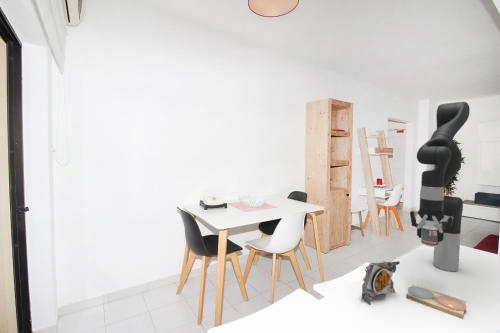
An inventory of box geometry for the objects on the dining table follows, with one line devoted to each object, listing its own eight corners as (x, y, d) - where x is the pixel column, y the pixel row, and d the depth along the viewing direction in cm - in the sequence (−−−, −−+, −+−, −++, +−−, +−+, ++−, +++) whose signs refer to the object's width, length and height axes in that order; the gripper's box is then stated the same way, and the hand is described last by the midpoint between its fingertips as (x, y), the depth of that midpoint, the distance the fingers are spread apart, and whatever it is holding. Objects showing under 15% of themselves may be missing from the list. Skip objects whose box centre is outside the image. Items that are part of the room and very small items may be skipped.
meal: (371, 306, 87) (372, 270, 86) (361, 299, 91) (362, 265, 90) (399, 295, 93) (400, 261, 92) (388, 289, 97) (389, 257, 96)
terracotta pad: (438, 293, 92) (438, 293, 92) (467, 303, 86) (467, 302, 86) (435, 303, 86) (435, 302, 86) (465, 314, 81) (465, 313, 81)
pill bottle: (441, 247, 95) (442, 222, 94) (425, 246, 96) (426, 221, 95) (433, 242, 100) (434, 218, 99) (418, 241, 101) (419, 217, 101)
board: (412, 287, 99) (412, 284, 99) (465, 304, 87) (465, 301, 87) (406, 297, 92) (406, 294, 91) (462, 318, 80) (463, 315, 80)
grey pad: (410, 284, 98) (410, 283, 98) (435, 292, 93) (435, 292, 93) (405, 293, 92) (405, 292, 92) (431, 302, 87) (431, 301, 87)
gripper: (456, 198, 94) (454, 241, 95) (412, 193, 104) (410, 232, 106) (454, 201, 89) (451, 247, 90) (407, 196, 99) (406, 237, 100)
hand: (429, 239), depth 98 cm, fingers closed on pill bottle, 5 cm apart
